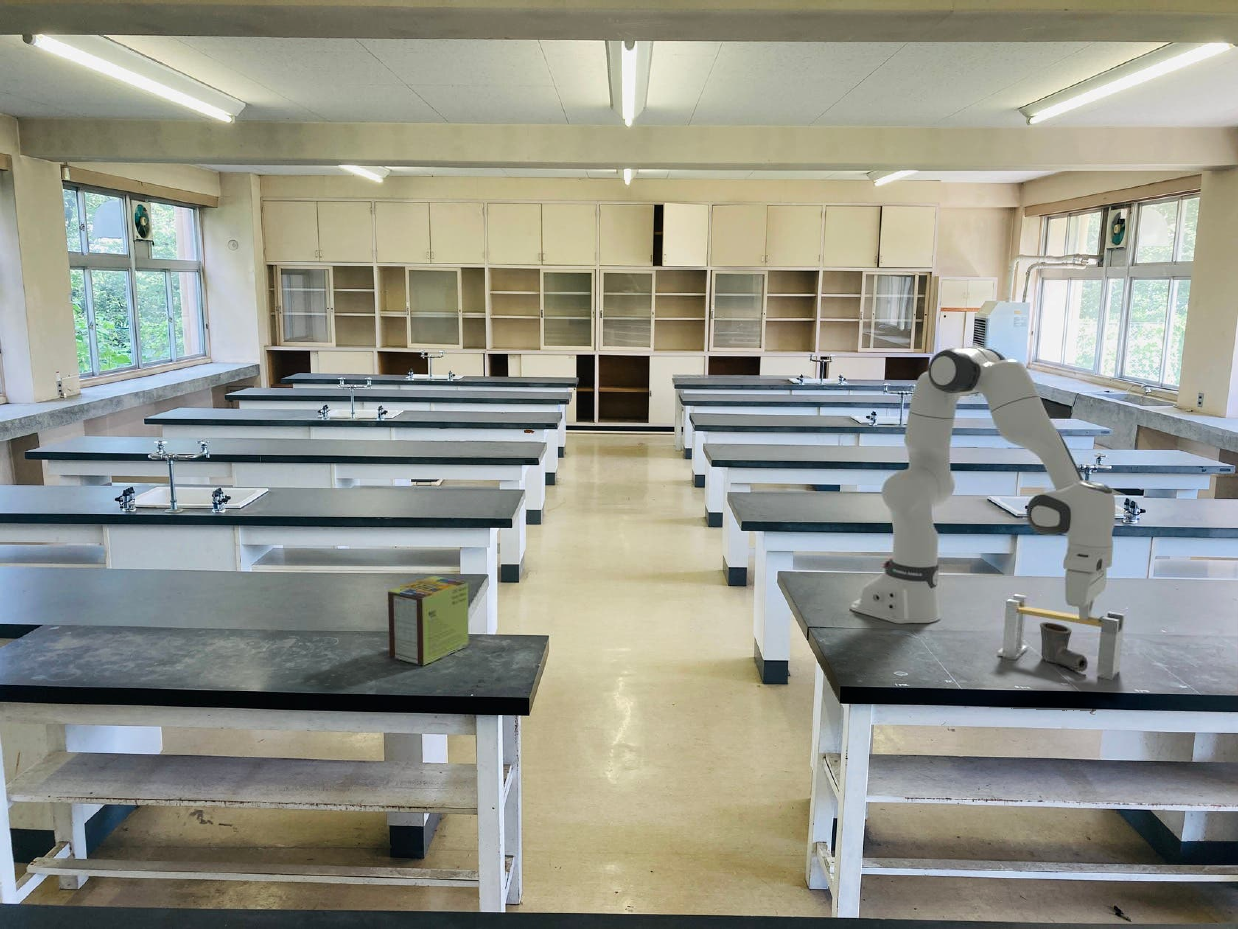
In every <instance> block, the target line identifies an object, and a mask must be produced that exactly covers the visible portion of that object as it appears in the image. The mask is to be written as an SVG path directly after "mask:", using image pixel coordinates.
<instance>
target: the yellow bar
mask: <svg viewBox="0 0 1238 929" xmlns="http://www.w3.org/2000/svg"><path fill="white" fill-rule="evenodd" d="M1019 613H1020V614H1025V616H1026V615H1027V616H1031V617H1038V618H1039V617H1040V618H1045V619H1052V620H1056V621H1057V620H1058V621H1064V622H1069V623H1075V624H1081V625H1087V626H1093V627H1094V626H1095V627H1098V628H1101V625H1102V618H1103V617H1105V616H1104V615H1101V616H1100V617H1092V616H1090V617H1089V618H1088V619H1087V620H1084V619H1080V618H1079V614H1074V613H1068V612H1061V611H1057V610H1050V609H1043V608H1037V607H1032V606H1031V607H1030V606H1026V607H1025V606H1020V605H1019ZM1108 618H1110V617H1108ZM1113 619H1116V618H1113Z"/></svg>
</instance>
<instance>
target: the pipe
mask: <svg viewBox="0 0 1238 929" xmlns="http://www.w3.org/2000/svg"><path fill="white" fill-rule="evenodd" d="M1039 627H1040V628H1039V629H1040V636H1041V652H1040V653H1041V654H1040V655H1041V657H1042V659H1043V660H1044V661H1046V662H1048V663H1052V664H1058V665H1061V666H1063V667H1066V668H1067V669H1070V670H1073V671H1076V672H1081V673H1082V672H1084V671H1086V670H1087V668H1088V663H1089V662H1088V659H1087V657H1086V656H1085V655H1083V654H1081V653H1078V652H1076V651H1072V650H1069V649H1068V645H1069V643H1070V637H1071V634H1072V632H1073V631H1072V629H1071V628H1070V627H1067V626H1066V625H1062V624H1059V623H1055V622H1047V621H1046V622H1044V621H1043V622H1040V623H1039Z"/></svg>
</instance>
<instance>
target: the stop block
mask: <svg viewBox="0 0 1238 929" xmlns="http://www.w3.org/2000/svg"><path fill="white" fill-rule="evenodd" d="M1108 617H1110V618H1108ZM1113 618H1116V619H1113ZM1124 623H1125V613H1121V612H1115V611H1110V610H1109V611H1108V612H1107V616H1104V617H1103V618H1102V625H1101V627H1100V636H1099V646H1098V657H1097V670H1096V677H1097V678H1101V679H1106V680H1110V681H1113V680H1114V678H1115V677H1116V676H1117V674H1119V672H1120V668H1121V667H1120V666H1121V657H1122V649H1123V648H1122V646H1123V634H1124Z"/></svg>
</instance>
